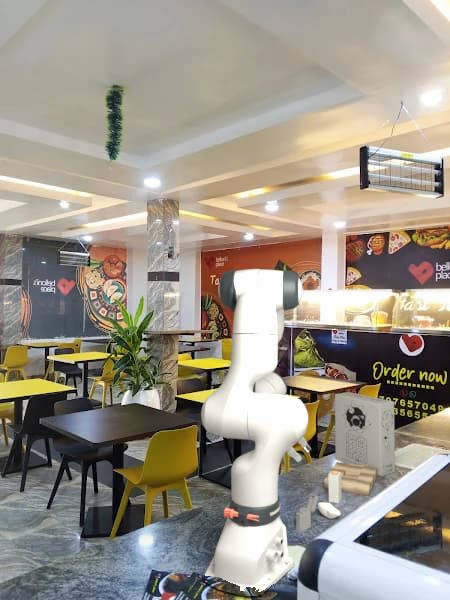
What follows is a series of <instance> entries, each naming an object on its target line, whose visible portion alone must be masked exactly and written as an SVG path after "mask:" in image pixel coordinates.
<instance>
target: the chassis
mask: <svg viewBox="0 0 450 600" xmlns="http://www.w3.org/2000/svg"><path fill="white" fill-rule="evenodd" d="M332 470H337V471H338V472H341V493H342V492H343V493H348V494H354V495H355V494H356V495H361V496H367V497H370V495H371V493H372V491H373V489H374V486H375V484H376V482H377V479H378V477H379V476H378V468H377V467H370V466H362V465H355V464H347V463H344V462H341V461H340V462H339V461H337V462H336V463H335V464H334V465H333V466H332V467H331V470H330V471H329V472H328V474H327V475H326V477H325V478H324V482H323V483H324V490H329V481H328V475H329V474H330V472H331V471H332Z"/></svg>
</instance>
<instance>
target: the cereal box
mask: <svg viewBox="0 0 450 600" xmlns="http://www.w3.org/2000/svg"><path fill="white" fill-rule="evenodd" d="M334 414H335V415H334V420H335V422H334V428H335V430H334V433H335V435H334V437H335V438H334V439H335V460H337V461H338V462H339V461H340V462H341V463H347V464H355V465H362V466H370V467H377V468H378V477H383V476H386V475H390V474H394V473H395V472H396V460H395V459H396V454H395V452H396V451H395V450H396V449H395V446H396V445H395V444H396V443H395V441H396V440H395V439H396V438H395V401H393V400H388V399H382V398H379V397H373V396H370V395H364V394H360V393H354V392H350V391H347V392H346V391H345V392H341V393H335V394H334Z"/></svg>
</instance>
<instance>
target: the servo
mask: <svg viewBox="0 0 450 600" xmlns="http://www.w3.org/2000/svg"><path fill="white" fill-rule="evenodd" d="M330 471H331V470H330ZM330 471H329V472H330ZM328 474H329V473H328ZM328 474H327V475H328ZM328 481H329V489H328V503H336V504H340V502H341V500H342V495H343V493H342V492H341V472H338V471H337V470H332V471H331V472H330V474H329V475H328Z"/></svg>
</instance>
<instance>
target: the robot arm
mask: <svg viewBox="0 0 450 600" xmlns="http://www.w3.org/2000/svg"><path fill="white" fill-rule="evenodd" d="M303 288H304V287H303V283H302V281H301V279H300V277H299V274H298V273H296V271H293V270H287V269H284V270H277V269H264V268H263V269H260V268H248V269H247V268H246V269H239V270H237V269H232V270H227V271H224V273H223V274H222V275H221V276H220V279H219V282H218V288H217V291H218V298H219V299H220V303H221V304H222V305H223V306H224V308H226V309H228V310H230V312H231V313H234V315H233V320H232V321H233V323H232V336H231V337H232V340H231V342H232V343H231V357H230V365H229V368H228V372H227V374H226V377H225V378H224V379H223V381H222V383H221V385H220V386H219V387H217V389H216V390H215V391H213V392H212V393H211V394H209V395H208V396H207V398H206V399H205V400H204V402H203V404H202V407H201V412H200V417H201V423H202V425H203V428H204V429H205V430H206V432H208V433H209V434H211V435H214V436H218V437H220V438H221V437H222V438H225V439H235V440H249V441H252V442H254V445H255V446H254V449H253V450H251V451H248V452H246V453H244V454H241V455H240V456H239V457H237V458H235V460H234V461H233V462H232V466H231V469H230V472H231V473H230V476H231V477H230V479H231V480H230V481H231V484H230V485H231V489H230V490H231V495H230V497H229V502H228V506H227V507H225V508H224V511H223V516H224V518H227V519H226V521H225V524H224V526H223V528H222V531H221V534H220V537H219V539H218V542H217V544H216V548H215V551H214V556H213V558H212V559H211V561H210V563H209V565H208V567H207V569H206V570H205V573H204V575H205V576H216V577H220V578H222V579H223V580H226V581H228V582H230V583H233V584H236V585H238V586H240V591H245V590H244V589H245V588H246V587H251V588H253V587H255V588H256V590H258V589H259V591H258V592H261V591H263V590H265V589H266V588H268V587H269V586H271V585H273V584H274V585H275V584H276V583H277V582H279V580H281V579H282V578H283V577H284V576H285V575H286V574H287V573H288V572H289V571H290V570H291V569H292V568H293V567H294V566H295V561H294V559H293V558H292V557H291V556H290V555H289V550H288V537H287V536H288V535H287V527H286V525H285V524H284V522H283V521H282V519H281V516H280V515H281V499H280V496H279V489H278V488H279V486H278V485H279V475H280V474H279V472H280V465H281V462H282V459H283V457H284V455H285V454H287V455H288V456H290V457H291V458H293V459H294V460H295V461H296V462H297V463H300V462H301V460H303V456H302V454H301V453H298V452H297V451H296V450H295V448H294V445H295V444H296V443H298V444H299V445H301V447H302V450H303V451H304V452H305V453H307V454H308V453H309V452H310V451H311V450H312V448H311V446H310V445H309V444H308V442H307V439H306V438H305V437H304V436H305V435H306V434H307V429H308V426H309V412H308V410H307V407H306V405H305V404H304V403H303V401H302V400H301V399H300V398H297V397H293V396H290V395H286V394H287V390H288V387H287V384H286V383H287V382H286V381H285V380H284V378H283V377H282V376H281V375H280V374H279V373H277V372H274V371H275V370H276V369H277V367H278V366H277V365H278V364H279V363H278V362H279V361H278V360H279V359H278V355H279V353H278V351H279V347H278V345H279V342H280V341H281V340H282V338H283V334H284V330H285V311H291V310H294V309H296V308H297V307H298V306H299V305H300V302H301V300H302V297H303V291H304V289H303ZM274 585H273V586H274ZM256 590H255V591H256Z"/></svg>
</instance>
